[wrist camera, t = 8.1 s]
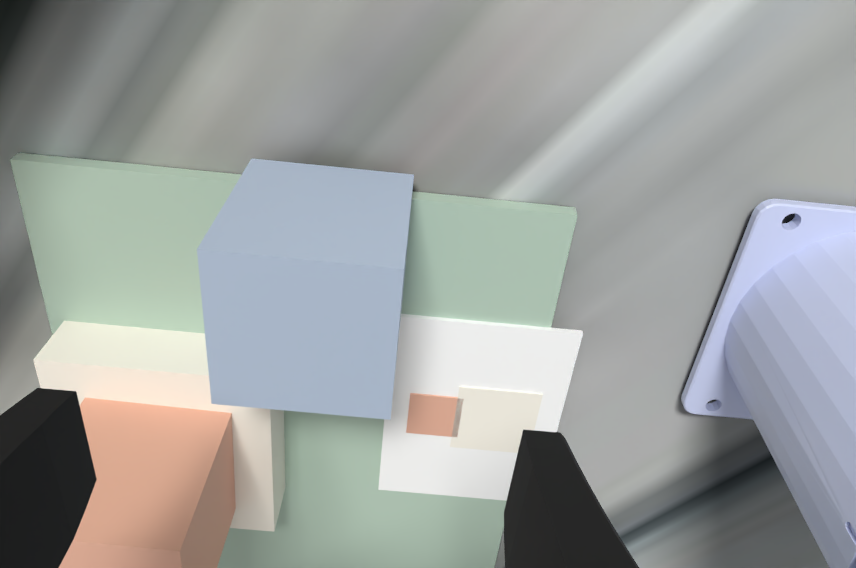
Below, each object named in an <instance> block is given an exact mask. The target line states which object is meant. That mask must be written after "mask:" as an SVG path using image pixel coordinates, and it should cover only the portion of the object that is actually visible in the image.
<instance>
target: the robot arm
mask: <svg viewBox="0 0 856 568" xmlns="http://www.w3.org/2000/svg"><path fill="white" fill-rule="evenodd" d="M794 213H795V217H794V218H793V220H792V221H790V222H788V223H783V224H782V220H783V219H784V218H785V217H786V216H787V215H789V214H794ZM711 400H716V401H714V402H713V403H708V402H709V401H711ZM681 401H682V404H683V406H684V408H685V410H686V411H687V412H689V413H692V414H699V415H710V416H721V417H732V418H743V419H753V420H754V422H755V424H756V426H757V428H758V430H759V432H760V434H761V435H762V437H763V439H764V441H765V443H766V445H767V447H768V449H769V451H770V453H771V455H772V457H773V459H774V461H775V463H776V465H777V467H778V468H779V470H780V472H781V474H782V476H783V478H784V480H785V482H786V484H787V486H788V488H789V490H790V492H791V494H792V496H793V498H794V500H795V502H796V503H797V505H798V507H799V509H800V511H801V513H802V515H803V517H804V519H805V521H806V523H807V525H808V527H809V529H810V531H811V533H812V535H813V537H814V538H815V540H816V542H817V544H818V546H819V548H820V550H821V552H822V554H823V556H824V558H825V560H826V562H827V564H828V566H829V568H856V207H854V206H844V205H834V204H824V203H814V202H804V201H794V200H784V199H768V200H766V201H763V202H761V203H760V204H759V205H758V206H756V208H755V209H754V211H753V212H752V215H751V217H750V220H749V223H748V225H747V228H746V230H745V233H744V236H743V238H742V241H741V243H740V246H739V248H738V251H737V254H736V256H735V259H734V261H733V264H732V267H731V269H730V272H729V274H728V277H727V280H726V282H725V285H724V287H723V290H722V292H721V295H720V298H719V300H718V303H717V305H716V308H715V311H714V313H713V316H712V318H711V321H710V324H709V326H708V329H707V331H706V334H705V336H704V339H703V342H702V344H701V347H700V349H699V352H698V355H697V357H696V360H695V362H694V365H693V368H692V370H691V373H690V375H689V378H688V380H687V383H686V386H685V388H684V391H683V393H682V396H681ZM96 480H97V478H96V474H95V470H94V465H93V461H92V457H91V453H90V448H89V444H88V440H87V435H86V431H85V427H84V422H83V418H82V414H81V410H80V405H79V401H78V397H77V392H76V391H67V390H56V389H44V388H37V389H36V390H34V391H33V392H31V393H30V394H29V395H27V396H26V397H24V398H23V399H22V400H20V401H19V402H18V403H16V404H15V405H14V406H12V407H11V408H10V409H8V410H7V411H6V412H4V413H3V414H2V415H0V568H59V566H60V564H61V562H62V560H63V559H64V557H65V555H66V553H67V551H68V549H69V547H70V545H71V543H72V541H73V540H74V537H75V535H76V532H77V530H78V527H79V525H80V522H81V520H82V517H83V515H84V512H85V510H86V507H87V504H88V502H89V499H90V496H91V494H92V491H93V488H94V486H95V483H96ZM504 545H505V568H639V567H638V565H637V564H636V562H635V561H634V559H633V558H632V556H631V555H630V553H629V551H628V550H627V548H626V546H625V545H624V543H623V542H622V540H621V538H620V537H619V535H618V533H617V532H616V530H615V529H614V527H613V525H612V524H611V522H610V521H609V519H608V517H607V515H606V514H605V512H604V510H603V509H602V507H601V505H600V503H599V502H598V500H597V498H596V496H595V494H594V493H593V491H592V489H591V487H590V485H589V484H588V482H587V480H586V478H585V476H584V474H583V472H582V471H581V469H580V467H579V465H578V463H577V461H576V459H575V457H574V455H573V453H572V451H571V449H570V447H569V445H568V443H567V441H566V439H565V438H564V436H563V435H562V434H561V433H558V432H547V431H535V430H523V432H522V437H521V441H520V445H519V450H518V454H517V458H516V463H515V467H514V471H513V475H512V480H511V484H510V488H509V493H508V497H507V501H506V505H505V510H504Z"/></svg>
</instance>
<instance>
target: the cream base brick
mask: <svg viewBox="0 0 856 568" xmlns="http://www.w3.org/2000/svg"><path fill="white" fill-rule="evenodd" d="M33 361H34V365H35V368H36V372H37V376H38V380H39V383H40V387H41V388H44V389H56V390H67V391H76V392H77V397H78V401H79V405H80V404H81V403H82V401H83V400H84V398H95V399H104V400H113V401H123V402H132V403H142V404H151V405H161V406H170V407H180V408H189V409H199V410H208V411H217V412H227V413H232V434H233V457H234V480H235V503H236V509H235V513H234V516H233V519H232V522H231V525H230V528H237V529H249V530H260V531H272V532H274V531H275V527H276V523H277V519H278V515H279V511H280V507H281V503H282V499H283V495H284V491H285V438H284V410H274V409H263V408H252V407H241V406H229V405H218V404H212V403H211V392H210V382H209V371H208V361H207V350H206V340H205V333H194V332H183V331H173V330H162V329H151V328H140V327H129V326H118V325H107V324H96V323H85V322H74V321H63V323H62V324H61V325H60V327H59V328H58V329H57V330H56V332H55V333H54V334H53V335H52V337H51V338H50V339H49V341H48V342H47V343H46V344H45V346H44V347H43V348H42V349H41V351H40V352H39V353H38V355H37V356H36V357H35V358H34V360H33Z"/></svg>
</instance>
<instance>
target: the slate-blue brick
mask: <svg viewBox="0 0 856 568" xmlns="http://www.w3.org/2000/svg"><path fill="white" fill-rule="evenodd" d="M413 180H414V175H412V174H402V173H392V172H382V171H372V170H362V169H352V168H342V167H332V166H322V165H312V164H302V163H292V162H281V161H271V160H261V159H251V160H250V162H249V164H248V165H247V167H246V169H245V170H244V172H243V174H242V175H241V177H240V178H239V180H238V182H237V183H236V185H235V187H234V188H233V190H232V192H231V193H230V195H229V197H228V198H227V200H226V202H225V203H224V205H223V207H222V208H221V210H220V212H219V213H218V215H217V217H216V218H215V220H214V222H213V223H212V225H211V227H210V228H209V230H208V232H207V233H206V235H205V236H204V238H203V240H202V241H201V243H200V245H199V246H198V248H197V256H198V266H199V277H200V287H201V298H202V308H203V319H204V329H205V340H206V350H207V361H208V371H209V382H210V392H211V403H212V404H218V405H229V406H241V407H252V408H263V409H274V410H286V411H297V412H308V413H320V414H331V415H342V416H353V417H365V418H376V419H387V420H391V410H392V400H393V390H394V380H395V370H396V360H397V350H398V340H399V330H400V321H401V311H402V300H403V289H404V278H405V267H406V257H407V246H408V235H409V224H410V213H411V202H412V191H413Z"/></svg>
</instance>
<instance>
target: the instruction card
mask: <svg viewBox="0 0 856 568" xmlns="http://www.w3.org/2000/svg"><path fill="white" fill-rule="evenodd" d="M582 336H583V332H582V331H581V330H570V329H560V328H549V327H538V326H528V325H517V324H506V323H495V322H485V321H474V320H463V319H453V318H442V317H431V316H420V315H410V314H401V321H400V330H399V340H398V350H397V360H396V370H395V380H394V390H393V400H392V410H391V420H387V419H384V428H383V440H382V452H381V464H380V476H379V487H378V490H388V491H400V492H411V493H423V494H435V495H446V496H458V497H470V498H481V499H493V500H505V501H507V497H508V493H509V488H510V484H511V480H512V475H513V471H514V467H515V463H516V458H517V454H518V450H519V445H520V441H521V437H522V432H523V430H535V431H547V432H557V429H558V425H559V421H560V417H561V414H562V410H563V406H564V403H565V399H566V395H567V391H568V388H569V384H570V380H571V377H572V373H573V369H574V365H575V362H576V358H577V354H578V350H579V347H580V343H581V339H582Z"/></svg>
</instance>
